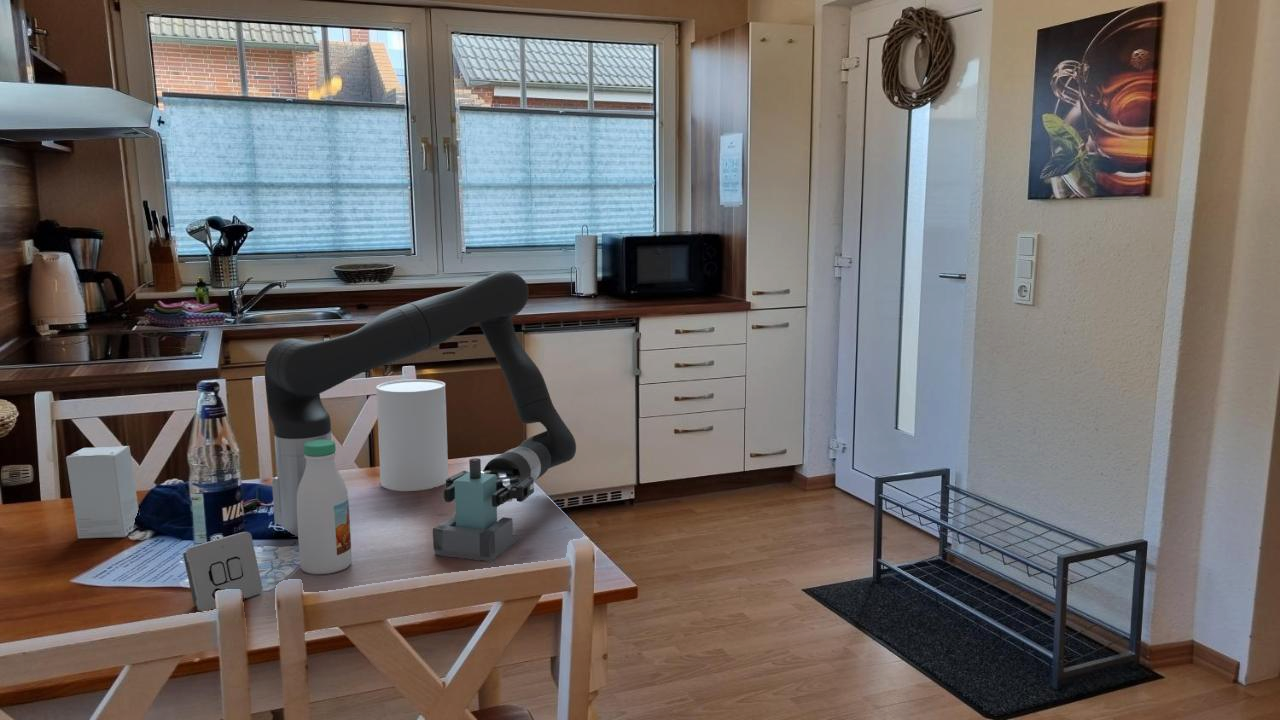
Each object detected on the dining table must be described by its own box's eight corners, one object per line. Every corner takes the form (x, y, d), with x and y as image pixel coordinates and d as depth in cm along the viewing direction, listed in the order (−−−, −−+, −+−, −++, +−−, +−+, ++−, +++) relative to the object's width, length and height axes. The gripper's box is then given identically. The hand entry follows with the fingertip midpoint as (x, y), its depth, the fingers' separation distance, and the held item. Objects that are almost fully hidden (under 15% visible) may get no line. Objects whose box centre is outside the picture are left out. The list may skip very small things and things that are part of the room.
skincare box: (141, 527, 165) (134, 445, 163) (123, 539, 159) (116, 454, 157) (92, 527, 165) (84, 445, 162) (73, 539, 159) (64, 454, 156)
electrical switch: (201, 615, 130) (193, 550, 129) (183, 609, 133) (175, 545, 132) (264, 594, 137) (257, 532, 136) (246, 588, 140) (239, 528, 139)
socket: (464, 534, 162) (463, 509, 161) (517, 540, 159) (516, 515, 158) (433, 555, 152) (432, 528, 151) (489, 562, 149) (489, 535, 148)
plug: (470, 535, 158) (468, 454, 156) (497, 538, 157) (495, 457, 155) (456, 545, 154) (453, 462, 151) (484, 548, 152) (481, 465, 150)
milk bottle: (322, 579, 142) (315, 451, 139) (289, 569, 146) (281, 444, 143) (362, 563, 149) (356, 440, 145) (329, 553, 153) (323, 434, 149)
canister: (418, 468, 202) (414, 376, 199) (462, 478, 194) (459, 384, 191) (366, 483, 191) (362, 386, 188) (411, 495, 184) (407, 394, 180)
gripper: (476, 448, 169) (430, 472, 154) (549, 454, 165) (509, 480, 150) (477, 488, 170) (431, 516, 155) (550, 495, 166) (510, 525, 151)
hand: (470, 498), depth 152 cm, fingers open, 8 cm apart
